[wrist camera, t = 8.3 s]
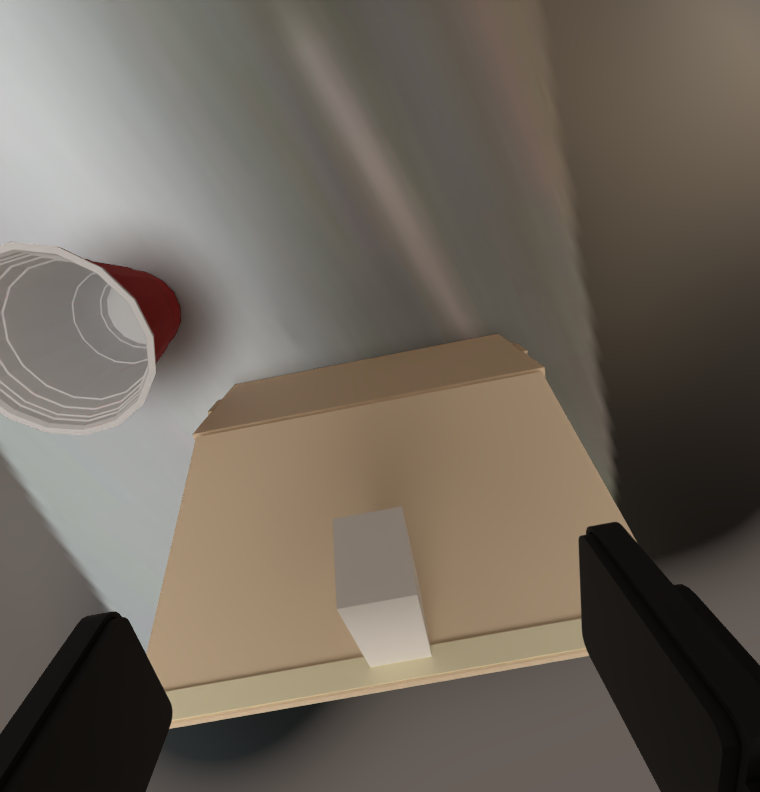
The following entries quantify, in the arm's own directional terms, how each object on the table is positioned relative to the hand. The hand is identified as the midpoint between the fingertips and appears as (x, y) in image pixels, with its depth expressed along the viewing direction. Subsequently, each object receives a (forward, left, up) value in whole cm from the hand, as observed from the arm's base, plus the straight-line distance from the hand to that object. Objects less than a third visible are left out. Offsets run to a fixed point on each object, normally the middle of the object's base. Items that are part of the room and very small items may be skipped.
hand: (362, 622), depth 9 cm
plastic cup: (-5, -16, -29) cm, 34 cm away
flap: (+6, 0, -12) cm, 13 cm away
